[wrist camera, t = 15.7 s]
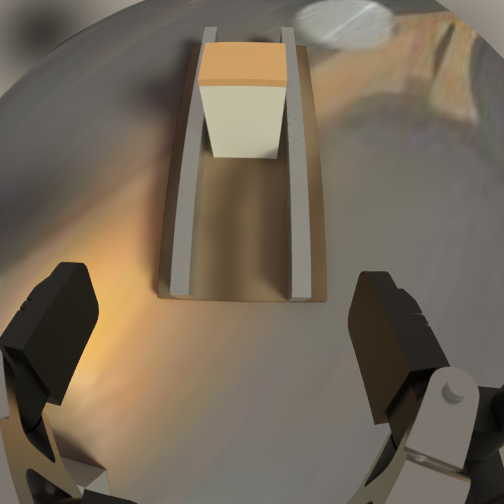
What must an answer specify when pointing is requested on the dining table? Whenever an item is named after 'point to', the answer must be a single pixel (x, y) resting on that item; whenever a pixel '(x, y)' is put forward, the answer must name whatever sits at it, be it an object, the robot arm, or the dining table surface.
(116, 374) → the dining table surface
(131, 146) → the dining table surface
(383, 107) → the dining table surface
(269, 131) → the block
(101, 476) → the large tray rim
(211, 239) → the rail board
